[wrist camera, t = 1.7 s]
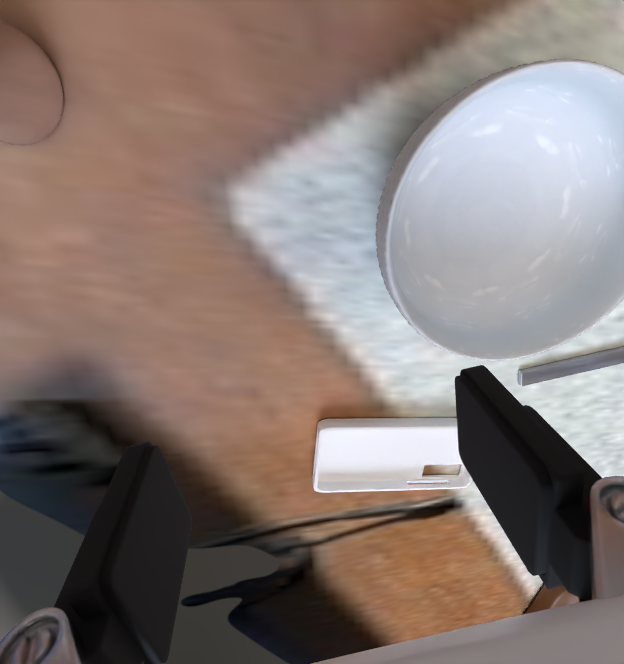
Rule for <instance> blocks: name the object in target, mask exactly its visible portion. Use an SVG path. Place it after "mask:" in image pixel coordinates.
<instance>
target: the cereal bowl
mask: <svg viewBox="0 0 624 664" xmlns="http://www.w3.org/2000/svg"><path fill="white" fill-rule="evenodd" d="M376 246H377V257H378V261H379V267H380V269H381V275H382V277H383V279H384V283H385V285H386V288H387V290H388V291H389V294H390V295H391V298H392V299H393V301H394V303H395V304H396V307H397V308H398V309H399V311H400V312H401V314H402V315H403V316H404V318H405V319H406V320H407V321H408V323H409V324H410V325H411V326H412V327H413V328H414V329H415V330H416V331H417V333H418V334H420V335H421V336H423V337H424V338H425V339H427V340H428V341H429V342H431V343H432V344H434V345H435V346H437V347H439V348H441V349H443V350H445V351H447V352H450V353H452V354H455V355H458V356H462V357H466V358H471V359H477V360H486V361H503V360H512V359H519V358H524V357H528V356H532V355H536V354H539V353H542V352H545V351H548V350H551V349H553V348H556V347H558V346H560V345H562V344H565V343H567V342H569V341H570V340H572V339H574V338H576V337H577V336H579V335H581V334H582V333H584V332H585V331H587V330H588V329H590V328H591V327H593V326H594V325H595V324H597V323H598V322H599V321H600V320H601V319H603V318H604V317H605V316H606V315H607V314H609V313H610V312H611V311H612V310H613V309H614V308H615V307H616V306H617V305H618V304H619V303H620V302H621V301H622V300H623V299H624V73H622V72H620V71H618V70H616V69H613V68H611V67H608V66H606V65H602V64H599V63H596V62H591V61H585V60H578V59H553V60H548V61H538V62H533V63H530V64H523V65H519V66H517V67H511V68H509V69H505V70H503V71H500V72H497V73H495V74H492V75H490V76H488V77H486V78H484V79H481V80H478V81H477V82H476V83H474V84H472V85H470V86H469V87H466V88H464V89H463V90H462V91H459V92H458V93H457V94H456V95H454V96H453V97H452V98H450V99H448V100H447V101H446V102H445V103H444V104H442V105H441V106H440V107H438V108H437V110H435V111H434V112H432V113H431V115H430V116H429V117H428V118H427V119H426V120H425V121H424V122H423V123H422V124H421V126H419V127H418V128H417V129H416V131H415V133H414V134H413V135H412V136H411V137H410V138H409V140H408V142H407V143H406V144H405V146H404V148H403V150H402V151H401V152H400V153H399V155H398V157H397V160H396V161H395V163H394V164H393V167H392V169H391V171H390V173H389V176H388V178H387V179H386V184H385V186H384V188H383V192H382V196H381V198H380V204H379V206H378V214H377V222H376Z"/></svg>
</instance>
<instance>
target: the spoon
mask: <svg viewBox="0 0 624 664" xmlns="http://www.w3.org/2000/svg"><path fill="white" fill-rule="evenodd" d="M621 363H624V346H623V347H619V348H614V349H610V350H606V351H601V352H597V353H593V354H588V355H584V356H580V357H575V358H571V359H567V360H562V361H558V362H553V363H549V364H545V365H540V366H536V367H532V368H527V369H523V370H519V371H518V384H519V385H520V386H525V385H529V384H534V383H538V382H542V381H547V380H551V379H555V378H560V377H564V376H568V375H573V374H577V373H582V372H586V371H590V370H595V369H599V368H603V367H608V366H612V365H616V364H621Z"/></svg>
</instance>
